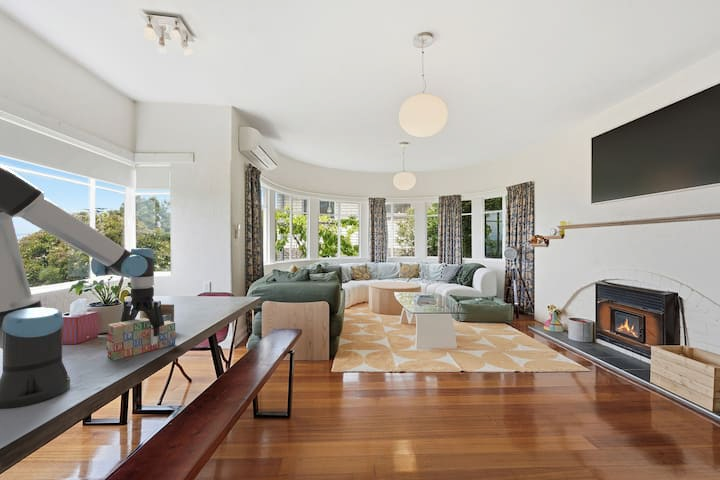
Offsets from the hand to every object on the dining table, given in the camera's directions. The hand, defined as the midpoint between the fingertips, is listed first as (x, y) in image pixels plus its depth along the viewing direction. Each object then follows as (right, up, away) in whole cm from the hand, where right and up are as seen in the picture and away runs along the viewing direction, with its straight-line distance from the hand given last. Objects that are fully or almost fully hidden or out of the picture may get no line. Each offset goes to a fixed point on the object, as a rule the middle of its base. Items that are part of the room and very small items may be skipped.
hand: (142, 344), depth 124 cm
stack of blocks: (0, -3, 0) cm, 3 cm away
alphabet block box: (-10, -3, +15) cm, 18 cm away
